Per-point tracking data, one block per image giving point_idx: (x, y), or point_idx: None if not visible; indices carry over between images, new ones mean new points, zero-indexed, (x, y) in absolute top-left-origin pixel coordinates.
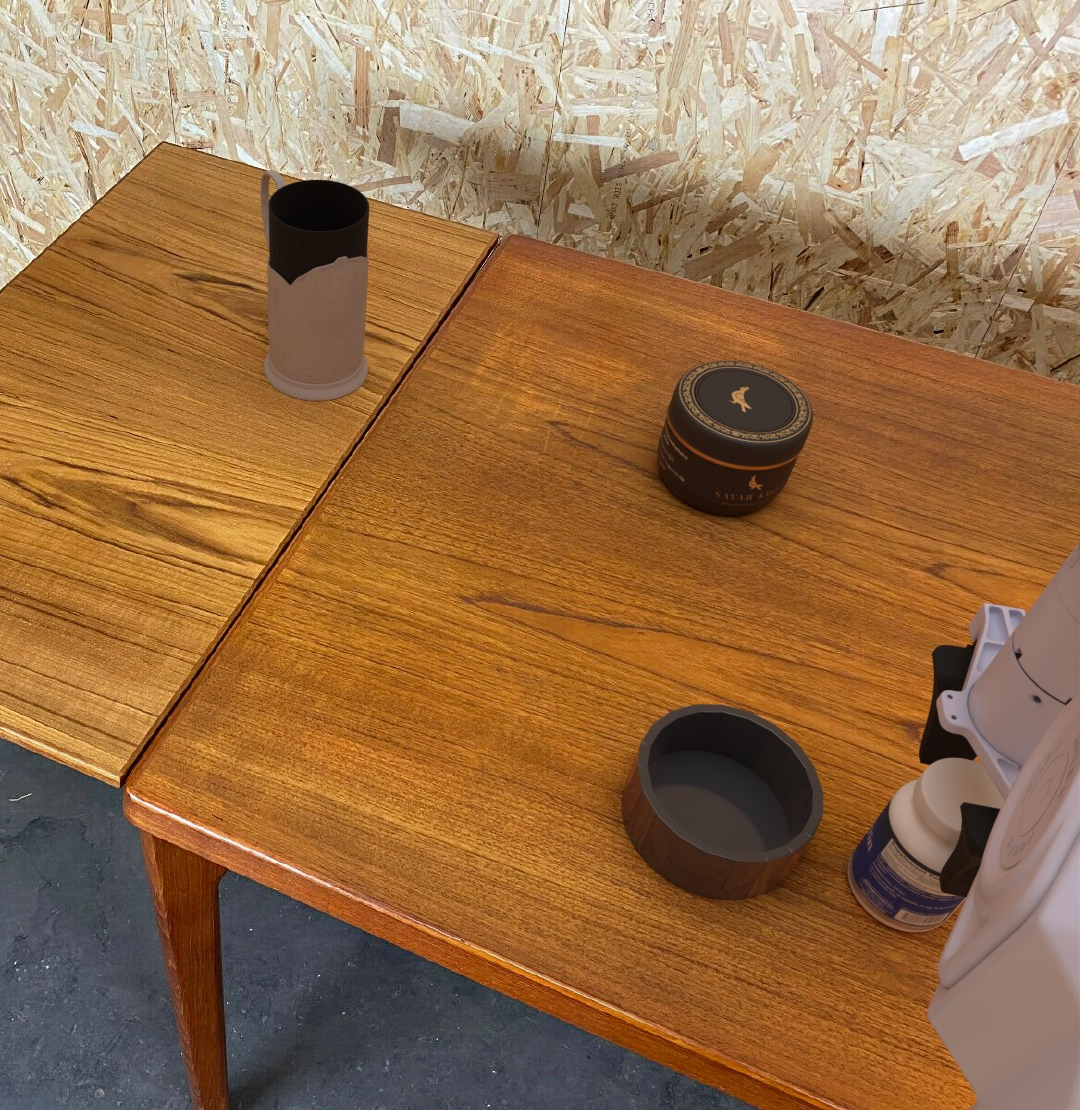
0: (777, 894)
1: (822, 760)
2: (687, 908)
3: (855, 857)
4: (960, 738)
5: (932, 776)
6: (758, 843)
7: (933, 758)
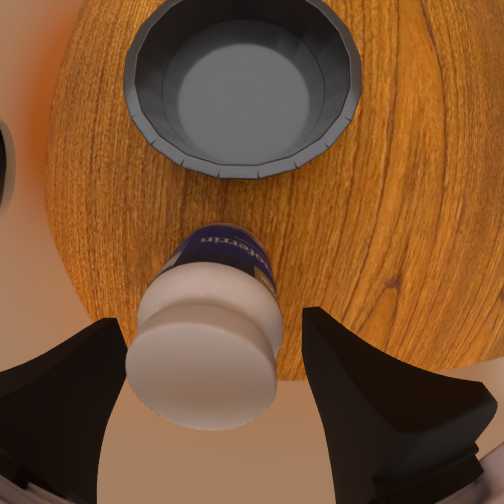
0: None
1: (350, 201)
2: None
3: (220, 227)
4: (321, 378)
5: (215, 342)
6: (223, 133)
7: (305, 328)
